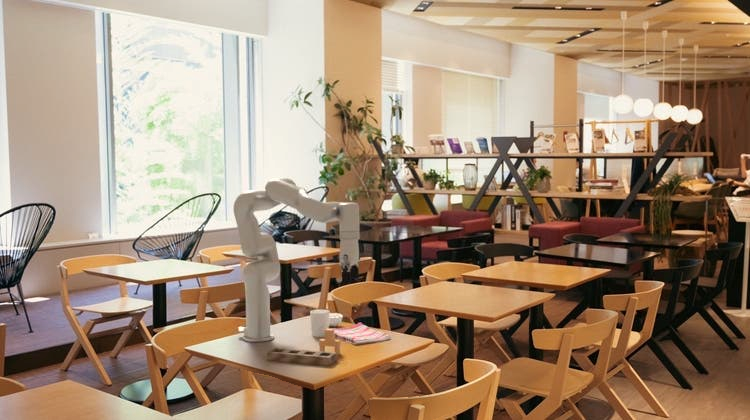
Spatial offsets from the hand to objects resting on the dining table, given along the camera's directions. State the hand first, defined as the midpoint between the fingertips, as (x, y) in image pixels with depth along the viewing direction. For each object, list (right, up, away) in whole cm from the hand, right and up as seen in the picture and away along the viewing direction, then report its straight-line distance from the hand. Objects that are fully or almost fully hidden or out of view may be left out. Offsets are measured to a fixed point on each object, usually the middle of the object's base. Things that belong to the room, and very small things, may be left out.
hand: (350, 280), depth 273 cm
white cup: (-13, -25, +24) cm, 38 cm away
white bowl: (-10, -24, +40) cm, 48 cm away
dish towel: (+2, -26, +21) cm, 34 cm away
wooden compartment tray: (-17, -28, -13) cm, 35 cm away
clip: (-8, -27, -4) cm, 28 cm away
